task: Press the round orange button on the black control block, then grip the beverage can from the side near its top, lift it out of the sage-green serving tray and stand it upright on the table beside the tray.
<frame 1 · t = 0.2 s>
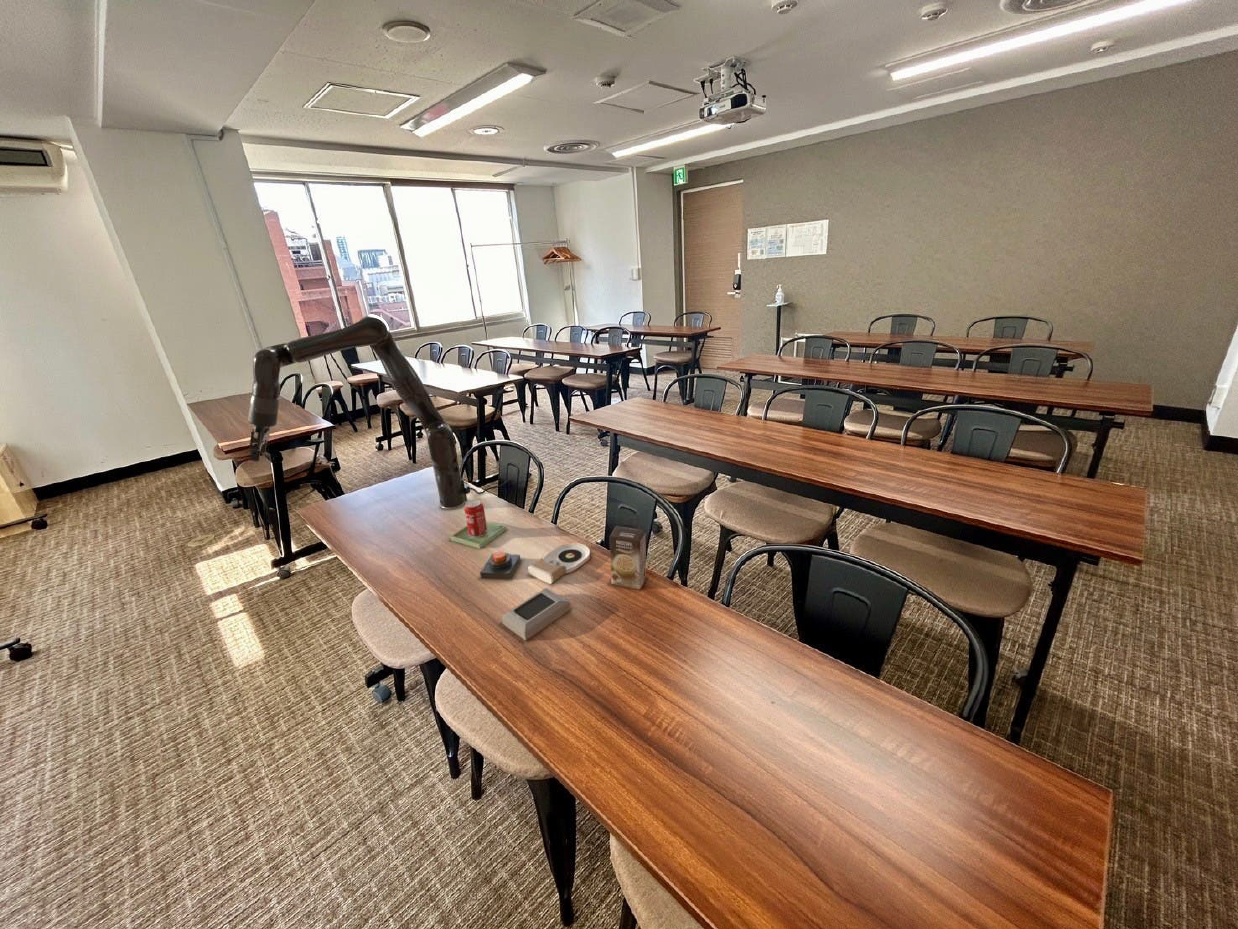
hand: (257, 456, 158), 31 cm above the table, tool tilted 20°, fingers open, 8 cm apart
beverage can: (478, 534, 166), resting on tray
coffee box: (629, 581, 139), on the table
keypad: (537, 617, 126), on the table
button box: (501, 569, 147), on the table
record player: (562, 563, 149), on the table
tray: (478, 535, 167), on the table
button: (499, 557, 145), point 4 cm above the table, slide at 0.1 cm
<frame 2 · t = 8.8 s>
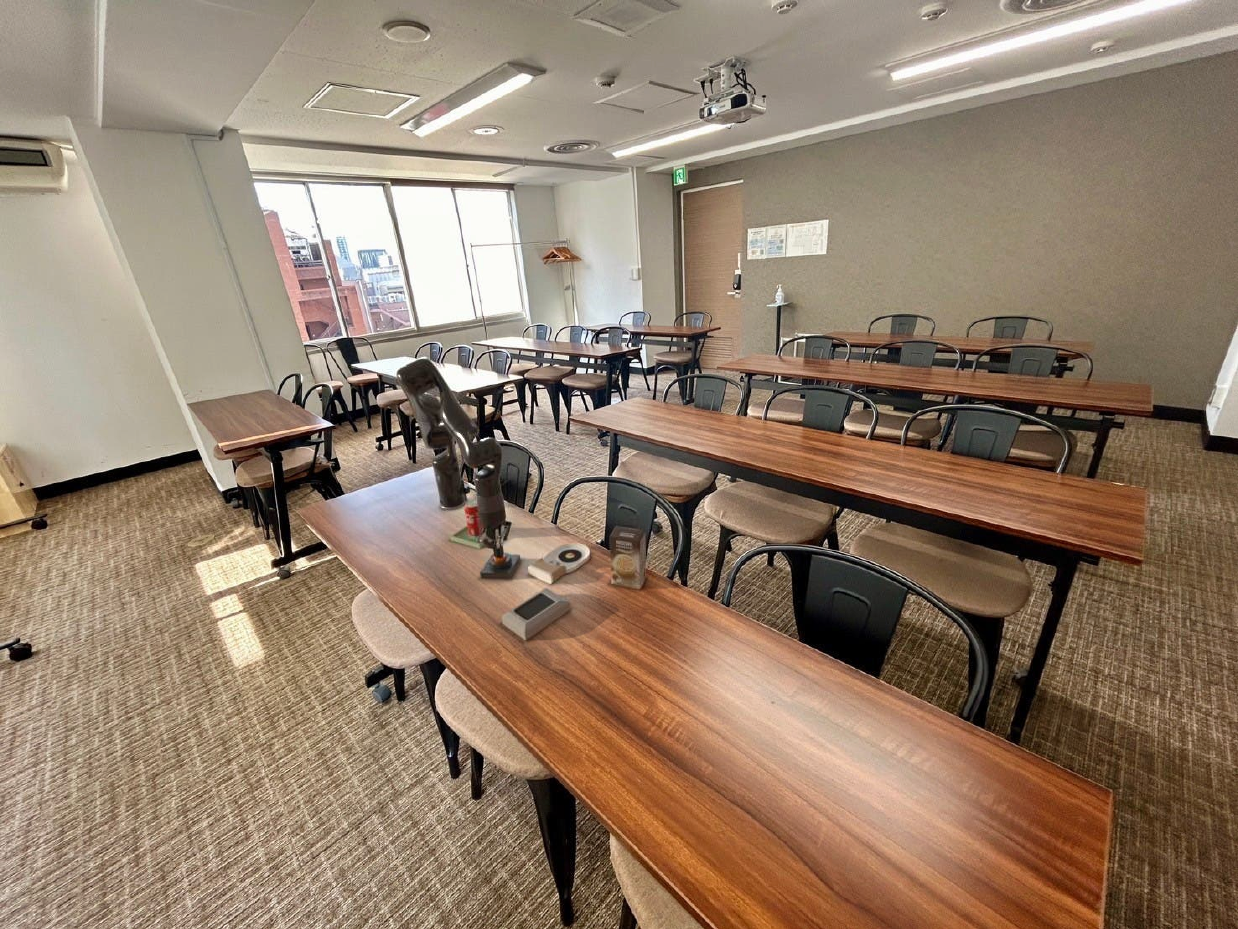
hand: (499, 556, 145), 5 cm above the table, tool pointing down, fingers closed
button: (499, 559, 145), point 4 cm above the table, slide at -0.7 cm, touching gripper
everything else where it was.
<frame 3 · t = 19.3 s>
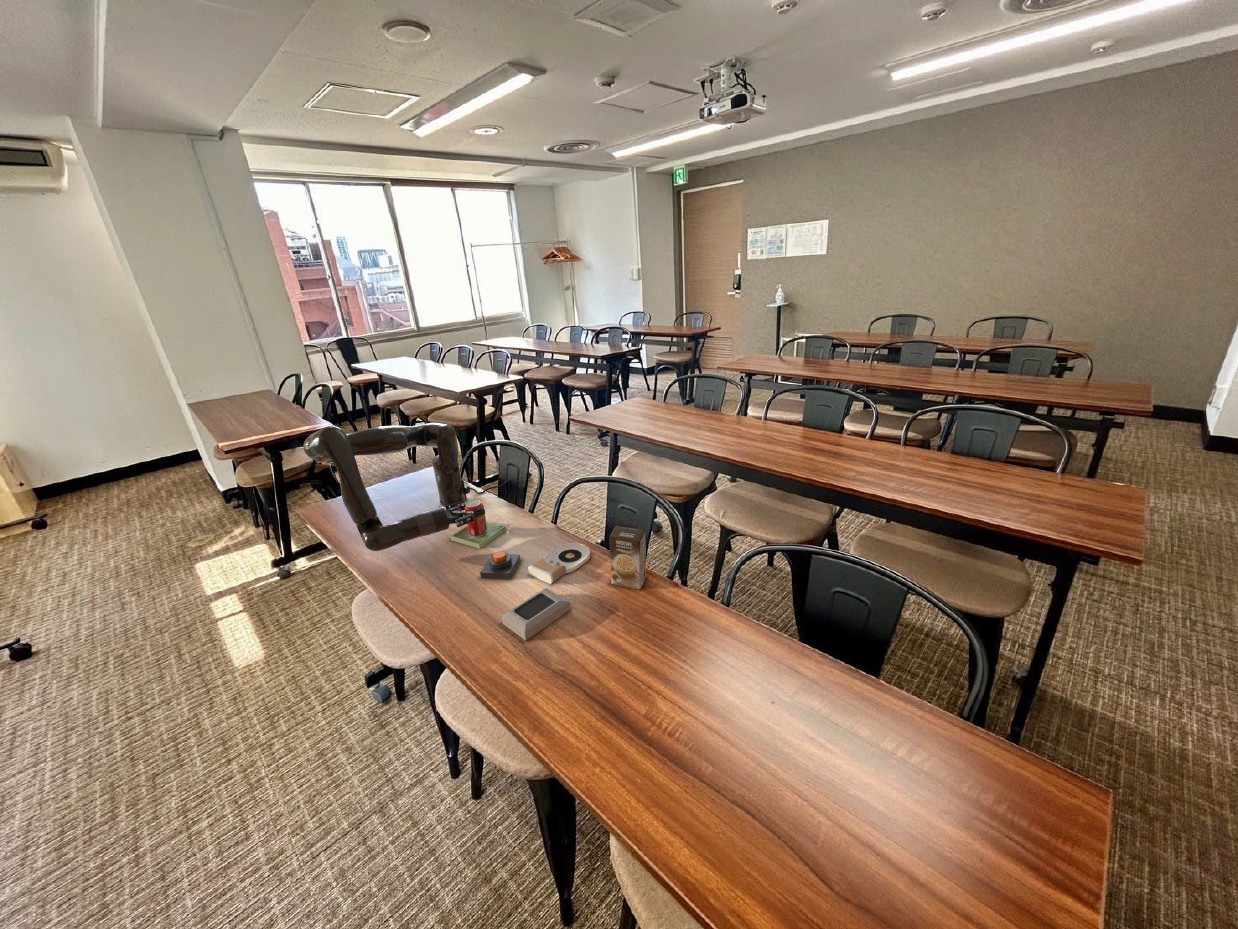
hand: (480, 507, 164), 10 cm above the table, tool horizontal, fingers closed on beverage can, 6 cm apart
beverage can: (478, 534, 166), resting on tray, touching gripper
button: (499, 557, 145), point 4 cm above the table, slide at 0.1 cm
everything else where it was.
when the fingers open (10 cm above the table, at t = 28.7 s): beverage can stays where it is, on the table.
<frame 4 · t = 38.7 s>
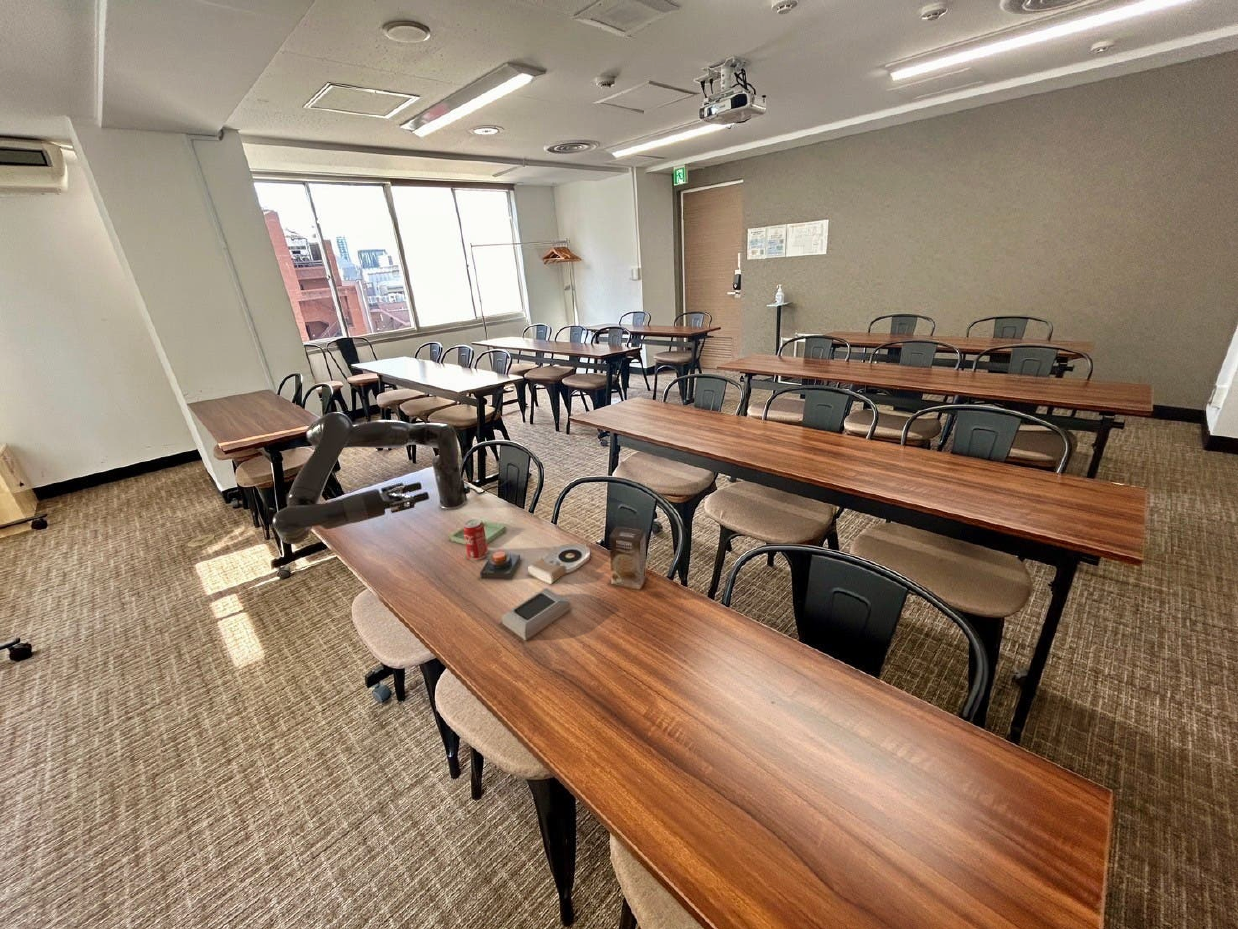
hand: (424, 490, 138), 27 cm above the table, tool horizontal, fingers open, 8 cm apart
beverage can: (478, 556, 155), on the table
everything else where it was.
at the end: button pushed in 1.1 cm at the most during the clip, back to where it started at the end; beverage can inside the target area on the table beside the tray (0.0 cm from its centre), on the table; beverage can tilted 0° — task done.
